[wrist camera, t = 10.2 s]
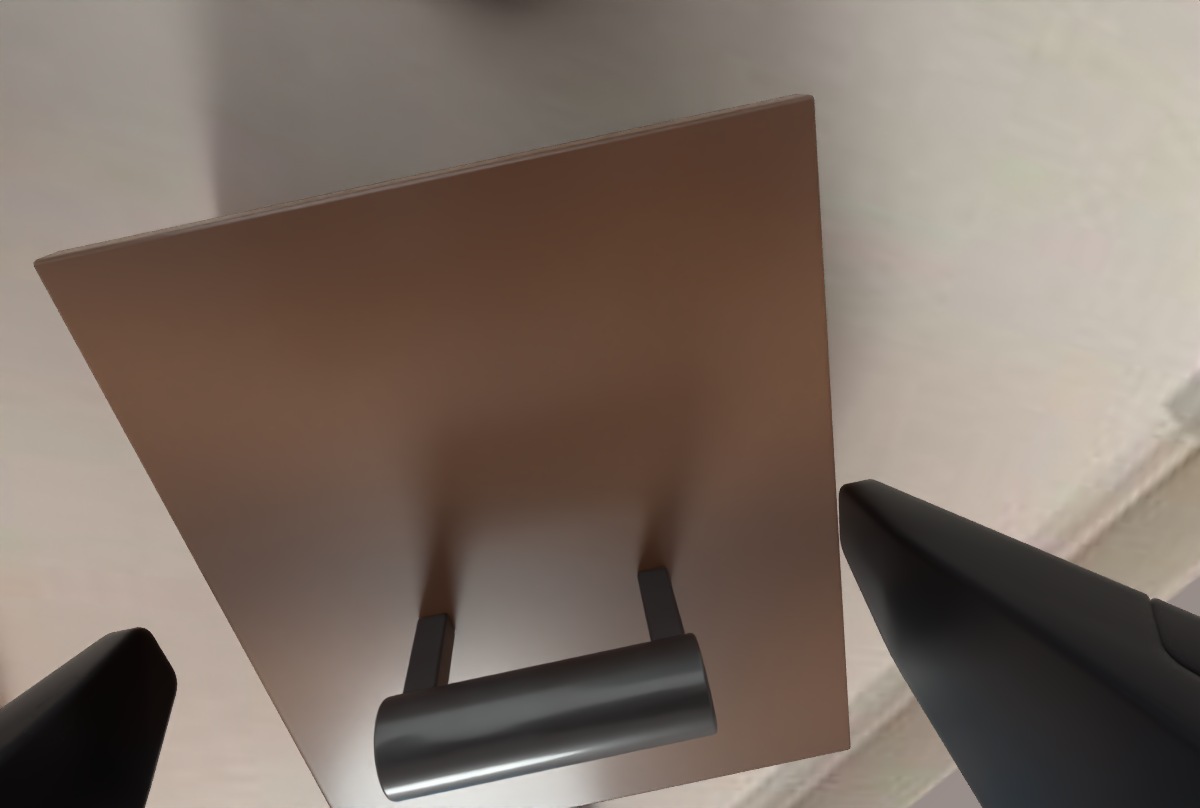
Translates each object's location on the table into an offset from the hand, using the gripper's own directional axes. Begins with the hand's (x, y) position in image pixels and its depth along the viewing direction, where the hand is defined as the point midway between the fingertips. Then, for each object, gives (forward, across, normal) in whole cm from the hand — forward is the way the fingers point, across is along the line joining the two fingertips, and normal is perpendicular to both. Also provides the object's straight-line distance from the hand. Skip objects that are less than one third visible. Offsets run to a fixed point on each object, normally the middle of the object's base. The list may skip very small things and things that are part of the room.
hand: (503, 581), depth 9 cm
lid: (+6, 0, +4) cm, 7 cm away
